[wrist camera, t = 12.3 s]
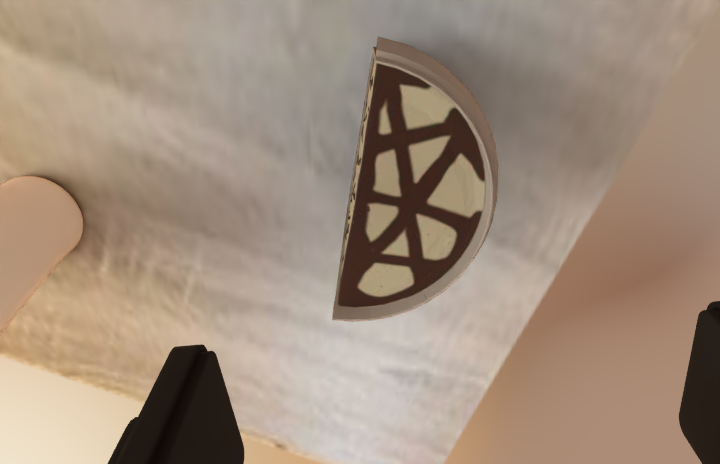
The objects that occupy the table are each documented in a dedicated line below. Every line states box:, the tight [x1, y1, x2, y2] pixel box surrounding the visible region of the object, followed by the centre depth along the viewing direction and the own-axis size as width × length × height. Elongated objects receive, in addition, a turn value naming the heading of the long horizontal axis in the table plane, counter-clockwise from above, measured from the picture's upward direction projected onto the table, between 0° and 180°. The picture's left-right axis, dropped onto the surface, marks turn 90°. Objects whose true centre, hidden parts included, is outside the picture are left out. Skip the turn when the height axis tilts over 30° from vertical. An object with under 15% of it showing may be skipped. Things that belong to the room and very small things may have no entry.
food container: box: [332, 37, 498, 321], centre depth 27 cm, size 12×6×10 cm, turn 171°
